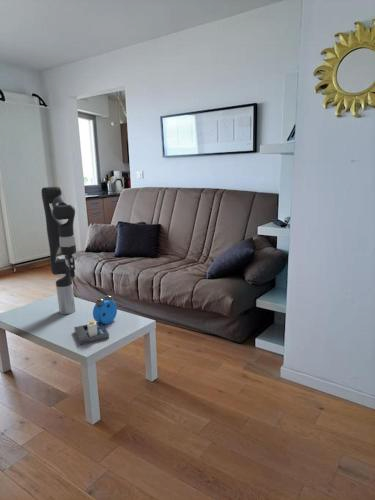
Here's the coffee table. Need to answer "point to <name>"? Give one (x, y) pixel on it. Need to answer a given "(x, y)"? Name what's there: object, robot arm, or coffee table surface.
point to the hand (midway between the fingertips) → (71, 274)
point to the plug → (92, 329)
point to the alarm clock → (105, 310)
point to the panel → (84, 339)
